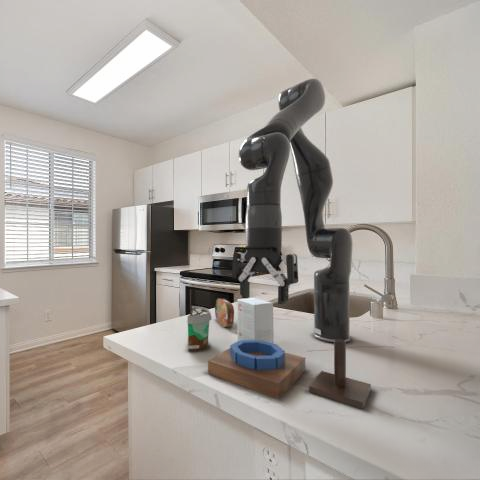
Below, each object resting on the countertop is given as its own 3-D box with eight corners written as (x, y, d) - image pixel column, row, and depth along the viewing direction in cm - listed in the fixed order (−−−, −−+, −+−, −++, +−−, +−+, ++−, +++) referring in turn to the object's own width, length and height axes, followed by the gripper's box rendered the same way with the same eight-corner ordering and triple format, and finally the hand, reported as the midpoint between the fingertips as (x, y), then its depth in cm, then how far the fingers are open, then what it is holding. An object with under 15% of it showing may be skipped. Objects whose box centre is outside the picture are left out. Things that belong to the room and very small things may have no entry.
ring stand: (321, 376, 66) (321, 330, 66) (370, 389, 60) (370, 339, 60) (308, 391, 59) (308, 341, 59) (362, 409, 53) (362, 352, 53)
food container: (211, 355, 78) (210, 317, 78) (187, 353, 79) (187, 316, 79) (212, 339, 90) (212, 306, 90) (192, 337, 91) (191, 305, 91)
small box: (274, 350, 81) (273, 302, 80) (254, 354, 78) (254, 304, 78) (255, 341, 88) (254, 297, 88) (236, 343, 86) (236, 298, 86)
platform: (241, 352, 80) (241, 341, 80) (305, 370, 69) (305, 357, 69) (208, 373, 68) (207, 360, 68) (278, 398, 57) (278, 383, 57)
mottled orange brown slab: (214, 318, 113) (214, 296, 113) (222, 317, 113) (222, 295, 113) (226, 330, 98) (226, 305, 98) (235, 330, 98) (235, 304, 98)
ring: (245, 346, 76) (245, 336, 76) (290, 358, 69) (290, 347, 69) (222, 359, 68) (222, 349, 68) (271, 375, 60) (271, 363, 60)
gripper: (303, 226, 63) (303, 303, 63) (243, 228, 73) (243, 294, 73) (288, 224, 58) (287, 308, 58) (226, 227, 68) (225, 298, 68)
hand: (262, 300), depth 65 cm, fingers open, 8 cm apart
